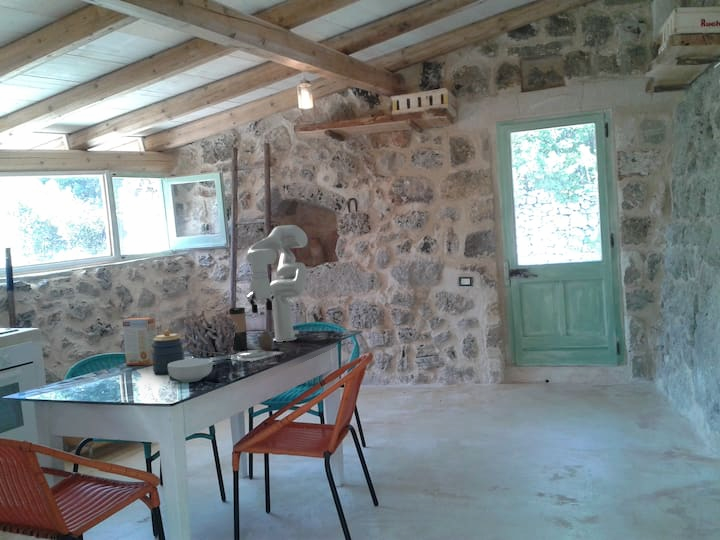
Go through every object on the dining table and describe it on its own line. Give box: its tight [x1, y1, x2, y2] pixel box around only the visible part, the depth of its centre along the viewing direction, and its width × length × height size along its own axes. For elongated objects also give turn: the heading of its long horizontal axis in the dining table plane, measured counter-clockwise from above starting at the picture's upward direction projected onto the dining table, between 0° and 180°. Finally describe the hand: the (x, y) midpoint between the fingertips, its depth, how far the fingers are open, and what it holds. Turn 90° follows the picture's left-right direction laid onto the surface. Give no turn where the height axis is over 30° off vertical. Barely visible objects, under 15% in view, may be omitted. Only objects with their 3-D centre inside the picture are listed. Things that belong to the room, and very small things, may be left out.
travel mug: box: [228, 307, 248, 351], centre depth 315 cm, size 8×8×20 cm
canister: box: [151, 329, 186, 376], centre depth 268 cm, size 13×13×18 cm
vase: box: [258, 330, 274, 351], centre depth 309 cm, size 7×7×9 cm
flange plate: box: [230, 349, 284, 363], centre depth 292 cm, size 20×20×2 cm
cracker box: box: [122, 317, 157, 367], centre depth 290 cm, size 14×6×21 cm, turn 65°
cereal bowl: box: [168, 358, 214, 383], centre depth 249 cm, size 17×17×7 cm
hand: (262, 311), depth 308 cm, fingers open, 9 cm apart
